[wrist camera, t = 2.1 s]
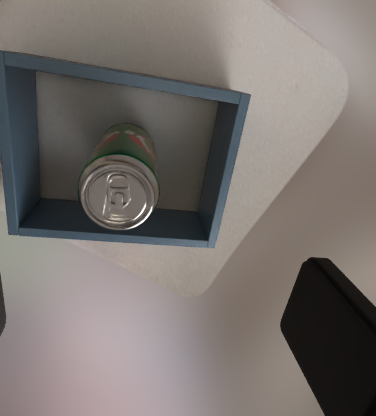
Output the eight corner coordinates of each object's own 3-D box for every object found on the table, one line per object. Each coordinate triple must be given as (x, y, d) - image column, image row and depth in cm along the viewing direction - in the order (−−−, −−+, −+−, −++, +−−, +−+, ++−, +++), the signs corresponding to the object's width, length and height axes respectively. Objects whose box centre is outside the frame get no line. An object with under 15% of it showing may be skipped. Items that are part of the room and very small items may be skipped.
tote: (32, 204, 29) (8, 235, 24) (23, 53, 24) (-11, 48, 18) (203, 219, 33) (214, 248, 27) (230, 89, 27) (251, 94, 22)
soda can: (101, 173, 29) (77, 235, 18) (99, 120, 27) (69, 155, 16) (153, 175, 30) (158, 235, 19) (154, 123, 28) (162, 159, 17)
